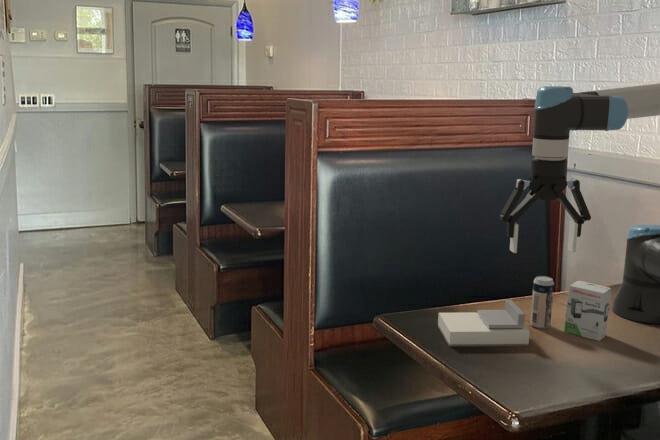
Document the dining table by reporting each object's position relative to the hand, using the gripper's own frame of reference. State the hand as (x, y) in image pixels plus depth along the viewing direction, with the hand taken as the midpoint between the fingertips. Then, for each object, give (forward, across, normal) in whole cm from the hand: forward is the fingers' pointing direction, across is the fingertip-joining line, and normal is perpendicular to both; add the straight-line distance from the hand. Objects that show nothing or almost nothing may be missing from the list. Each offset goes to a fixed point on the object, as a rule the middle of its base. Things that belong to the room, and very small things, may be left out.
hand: (542, 251), depth 156 cm
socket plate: (+20, +13, 0) cm, 24 cm away
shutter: (+16, +9, 0) cm, 19 cm away
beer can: (+21, -3, -6) cm, 22 cm away
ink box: (+21, -12, -1) cm, 24 cm away
